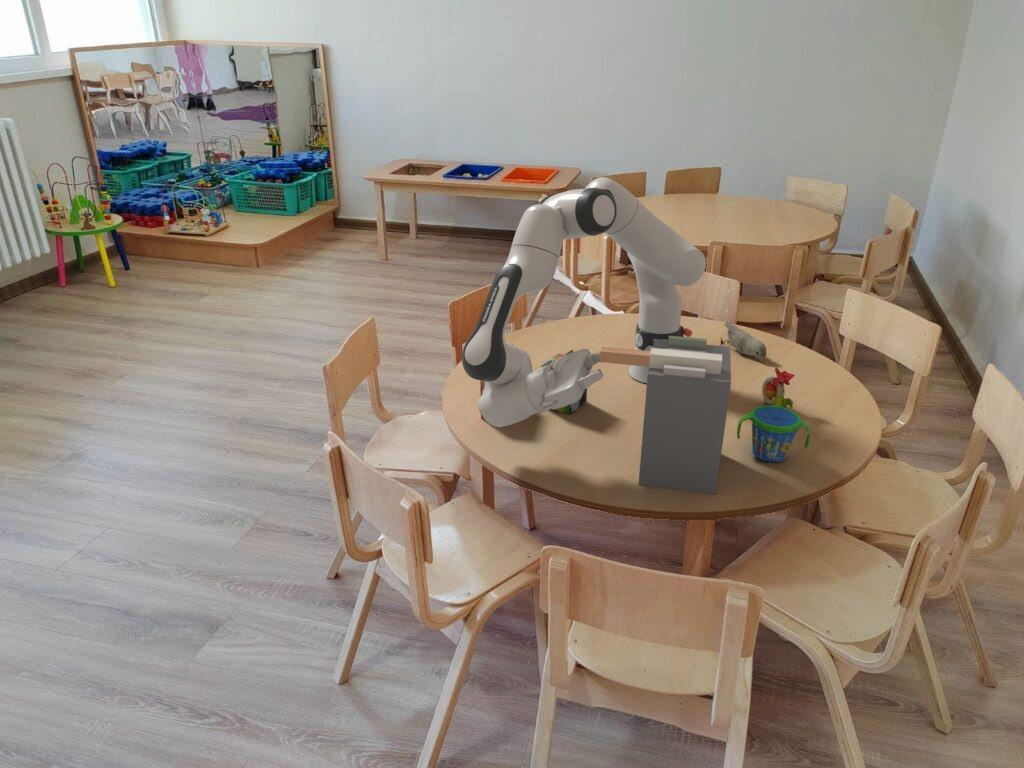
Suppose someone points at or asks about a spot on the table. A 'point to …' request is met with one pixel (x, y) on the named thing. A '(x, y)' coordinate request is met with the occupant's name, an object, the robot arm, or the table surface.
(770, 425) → the snack cup
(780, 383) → the bird rattle
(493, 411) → the robot arm
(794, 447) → the table surface
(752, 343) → the decorative bird
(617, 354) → the lever bar
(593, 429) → the table surface
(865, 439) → the table surface
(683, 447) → the cabinet
